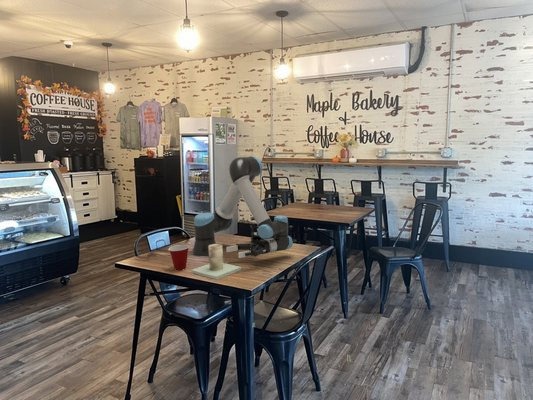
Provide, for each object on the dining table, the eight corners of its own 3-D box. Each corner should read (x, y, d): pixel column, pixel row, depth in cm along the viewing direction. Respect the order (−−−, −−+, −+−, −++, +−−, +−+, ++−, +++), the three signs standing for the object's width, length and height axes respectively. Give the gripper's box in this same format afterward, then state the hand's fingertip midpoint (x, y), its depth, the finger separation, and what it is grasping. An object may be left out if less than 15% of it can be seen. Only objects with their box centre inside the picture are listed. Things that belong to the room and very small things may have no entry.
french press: (256, 245, 253) (255, 210, 250) (246, 243, 260) (245, 208, 257) (269, 242, 262) (269, 207, 258) (259, 240, 268) (259, 206, 265)
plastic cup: (170, 266, 214) (169, 244, 212) (191, 265, 215) (190, 243, 213) (167, 272, 203) (166, 249, 202) (189, 271, 204) (188, 248, 202)
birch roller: (206, 269, 203) (205, 246, 201) (216, 265, 208) (215, 243, 207) (216, 271, 199) (215, 248, 197) (226, 267, 204) (225, 245, 203)
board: (191, 272, 202) (191, 270, 202) (216, 264, 216) (216, 261, 216) (216, 279, 191) (216, 276, 191) (241, 269, 205) (241, 267, 205)
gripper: (279, 258, 209) (244, 265, 198) (255, 248, 230) (222, 254, 219) (279, 244, 208) (244, 250, 197) (255, 235, 229) (221, 240, 218)
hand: (232, 252), depth 208 cm, fingers open, 13 cm apart
